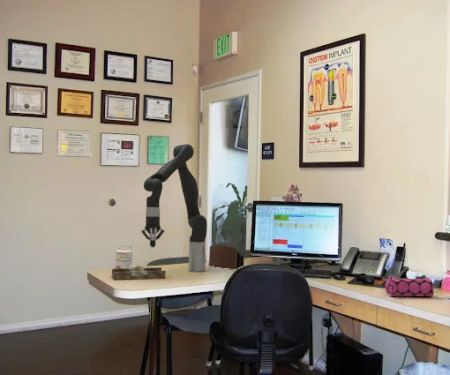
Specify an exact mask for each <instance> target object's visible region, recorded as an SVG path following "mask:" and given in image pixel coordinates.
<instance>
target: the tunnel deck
mask: <svg viewBox="0 0 450 375" xmlns="http://www.w3.org/2000/svg"><path fill="white" fill-rule="evenodd" d="M162 269H163V268H162V267H144V271H133V272H132V268H120V269H115V268H111V277H112V279H113V280H114V281H131V280H132V281H133V280H134V281H135V280H156V279H157V280H159V279H160V280H162V279H163V280H164V279H166V270H162Z"/></svg>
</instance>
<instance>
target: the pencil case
mask: <svg viewBox="0 0 450 375" xmlns="http://www.w3.org/2000/svg"><path fill="white" fill-rule="evenodd" d="M384 290H385V293H386V294H387V295H388V294H390V295H391V296H390V297H392V296H406V297H408V296H432V297H433V296H434V294H435V292H434V282H433V281H432V279H430V278H429V277H425V278H401V277H396V276H391V275H389V276H388V278H387V279H386V280H385V286H384Z"/></svg>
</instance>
